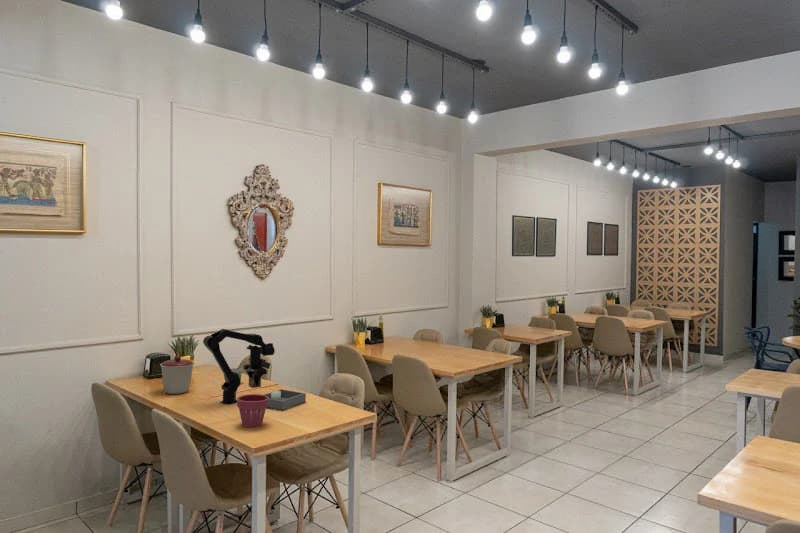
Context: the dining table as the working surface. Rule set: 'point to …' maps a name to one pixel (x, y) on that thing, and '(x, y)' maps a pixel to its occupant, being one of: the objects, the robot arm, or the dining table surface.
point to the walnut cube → (252, 383)
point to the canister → (177, 375)
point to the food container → (238, 371)
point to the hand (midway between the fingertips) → (254, 384)
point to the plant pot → (252, 409)
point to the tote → (286, 400)
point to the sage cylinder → (276, 395)
